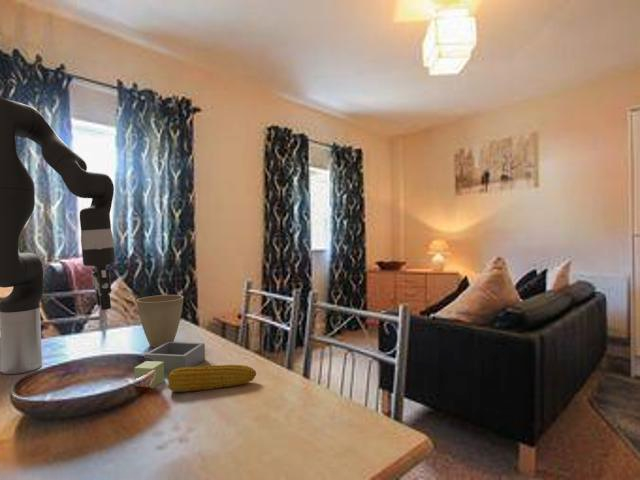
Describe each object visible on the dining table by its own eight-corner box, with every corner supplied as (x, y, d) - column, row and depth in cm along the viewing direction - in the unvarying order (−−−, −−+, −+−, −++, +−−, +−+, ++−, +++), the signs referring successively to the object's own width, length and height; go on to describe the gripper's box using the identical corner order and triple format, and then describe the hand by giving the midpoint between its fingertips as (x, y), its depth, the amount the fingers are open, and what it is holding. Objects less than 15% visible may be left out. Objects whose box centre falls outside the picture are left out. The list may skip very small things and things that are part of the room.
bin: (144, 372, 109) (144, 354, 109) (168, 357, 121) (167, 341, 120) (185, 374, 107) (184, 356, 107) (204, 359, 119) (204, 343, 118)
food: (167, 398, 92) (167, 373, 92) (169, 388, 98) (169, 365, 98) (257, 386, 99) (257, 363, 98) (254, 378, 104) (254, 356, 104)
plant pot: (193, 341, 137) (192, 296, 137) (155, 353, 125) (154, 303, 124) (166, 335, 145) (165, 293, 145) (128, 346, 133) (127, 299, 132)
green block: (134, 387, 99) (134, 367, 99) (146, 379, 104) (146, 360, 104) (153, 388, 98) (152, 368, 98) (164, 380, 103) (163, 361, 103)
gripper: (79, 248, 108) (85, 306, 109) (84, 248, 97) (90, 313, 97) (109, 245, 113) (115, 301, 113) (117, 245, 101) (124, 308, 102)
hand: (104, 307), depth 105 cm, fingers open, 8 cm apart
